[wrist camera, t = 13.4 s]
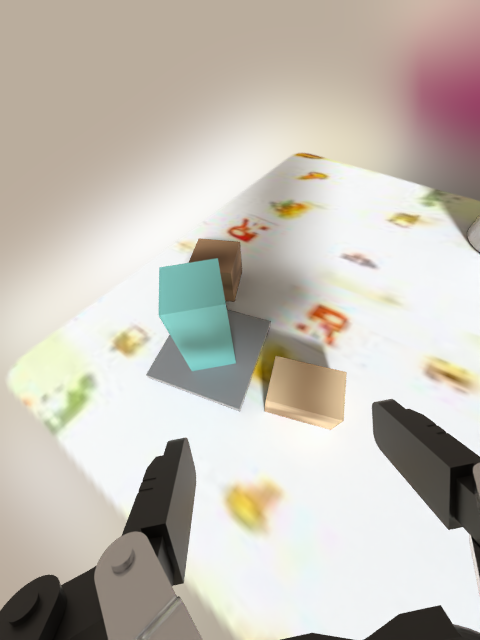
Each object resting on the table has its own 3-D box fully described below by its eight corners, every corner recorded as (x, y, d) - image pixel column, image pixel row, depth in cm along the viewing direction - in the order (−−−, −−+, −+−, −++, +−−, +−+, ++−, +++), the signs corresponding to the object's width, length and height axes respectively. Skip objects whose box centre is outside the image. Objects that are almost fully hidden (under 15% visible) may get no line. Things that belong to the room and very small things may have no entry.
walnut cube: (205, 268, 34) (198, 238, 30) (242, 272, 33) (239, 242, 29) (195, 297, 31) (186, 268, 27) (234, 301, 30) (230, 273, 26)
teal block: (189, 333, 27) (159, 267, 19) (229, 326, 28) (217, 258, 19) (191, 371, 25) (158, 315, 16) (236, 363, 25) (225, 304, 17)
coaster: (191, 303, 31) (190, 299, 30) (270, 325, 28) (270, 321, 28) (149, 377, 26) (146, 375, 25) (240, 411, 23) (239, 409, 23)
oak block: (264, 411, 23) (265, 400, 20) (273, 372, 25) (275, 355, 22) (330, 430, 22) (343, 420, 19) (333, 387, 24) (346, 372, 21)
